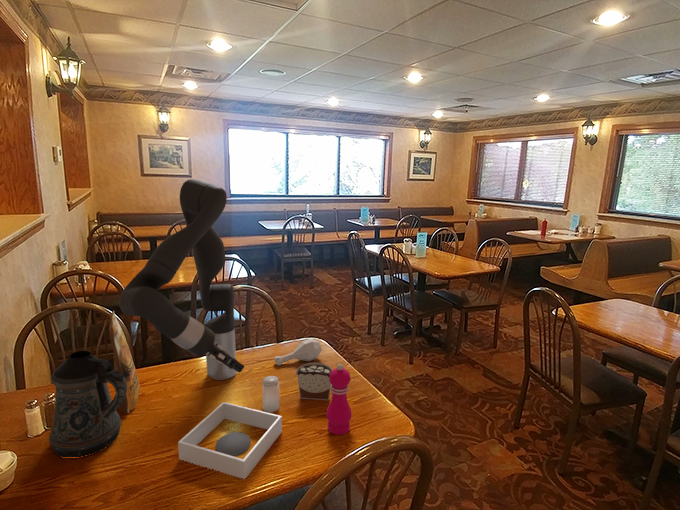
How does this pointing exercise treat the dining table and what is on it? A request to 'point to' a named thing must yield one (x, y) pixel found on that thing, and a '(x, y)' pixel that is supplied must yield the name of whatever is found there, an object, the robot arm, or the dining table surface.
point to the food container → (314, 381)
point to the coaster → (233, 443)
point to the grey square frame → (224, 461)
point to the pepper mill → (339, 402)
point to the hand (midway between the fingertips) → (234, 363)
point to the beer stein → (85, 405)
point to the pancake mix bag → (124, 365)
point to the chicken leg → (302, 352)
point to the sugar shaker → (270, 394)
